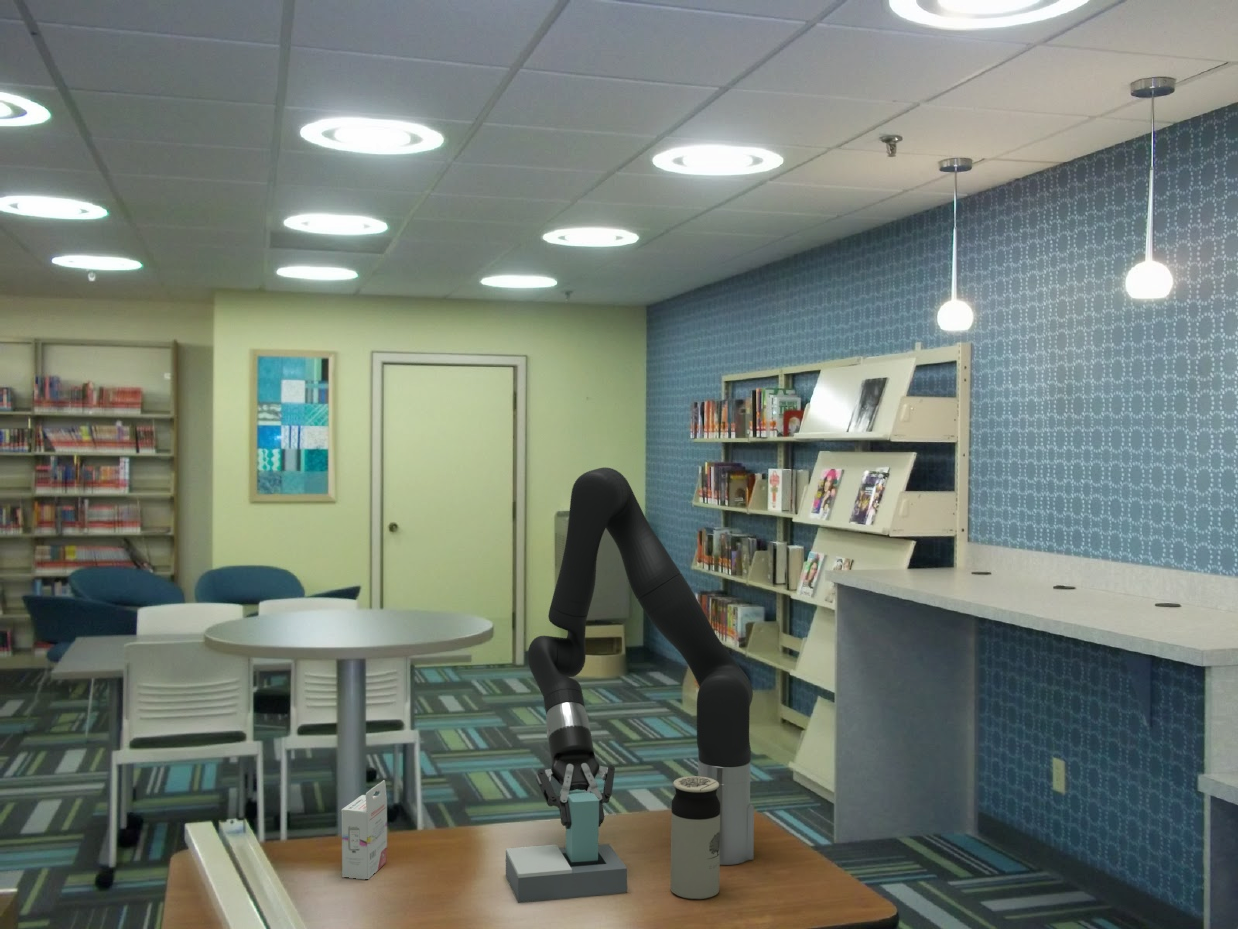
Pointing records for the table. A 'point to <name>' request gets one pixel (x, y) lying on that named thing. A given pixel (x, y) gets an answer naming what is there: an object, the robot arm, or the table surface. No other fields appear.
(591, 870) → the rail
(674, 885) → the travel mug
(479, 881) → the table surface
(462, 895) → the table surface
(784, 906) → the table surface
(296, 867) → the table surface
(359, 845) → the ink cartridge box
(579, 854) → the teal peg
